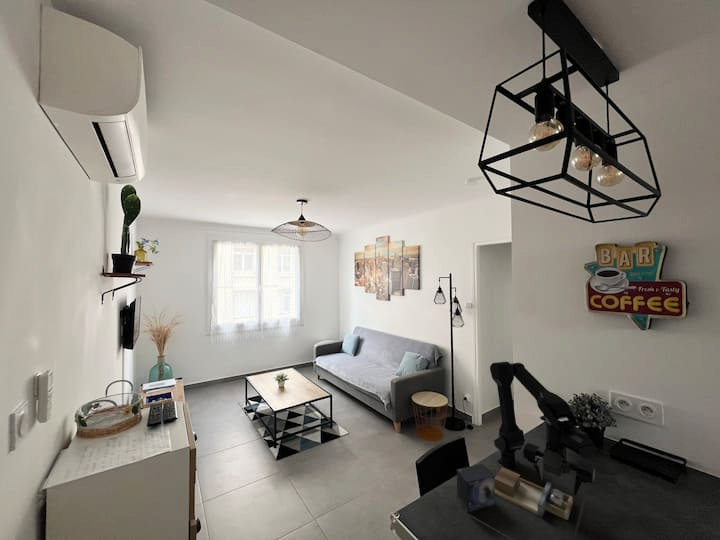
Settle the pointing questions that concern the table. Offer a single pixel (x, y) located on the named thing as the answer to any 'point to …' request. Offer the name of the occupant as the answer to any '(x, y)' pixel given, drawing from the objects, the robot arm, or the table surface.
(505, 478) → the slab
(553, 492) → the roller
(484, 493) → the small box
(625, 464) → the table surface
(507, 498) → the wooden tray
